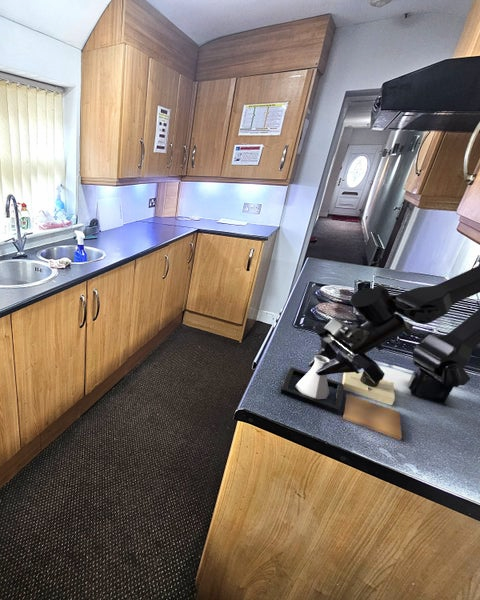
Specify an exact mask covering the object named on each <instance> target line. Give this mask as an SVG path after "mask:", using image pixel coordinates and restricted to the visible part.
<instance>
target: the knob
mask: <svg viewBox="0 0 480 600" xmlns="http://www.w3.org/2000/svg"><path fill="white" fill-rule="evenodd" d="M360 381H361V382H362V383H363V384H365V385H367V386H371V387H377V386H378V384H379V382H380V381H378V382H377V383H374V382H372V381H371V380H370V379H369V378H368V377H366V376H365V371H364V370H363V372H362V376H361V379H360Z"/></svg>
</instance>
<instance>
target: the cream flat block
mask: <svg viewBox="0 0 480 600" xmlns="http://www.w3.org/2000/svg"><path fill="white" fill-rule="evenodd" d="M362 374H363V372H362V373H361V372H359V373H358V374H357V373H355V372H350V373H342V382H341V383H342V384H343V386H344V389H343V391H347V392H350V393H353V394H356V395H359V396H362V397H365V398H368V399H371V400H374V401H377V402H380V403H383V404H386V405H389V406H393V404H394V402H395V401H396V396H395V394H396V393H395V384H394V382H392V381H388V380H385V379H382V380H380V382H379V384H378V386H377V387H371V386H367V385H365V384H363V383H362V382H361V381H360V379H361V376H362Z"/></svg>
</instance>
